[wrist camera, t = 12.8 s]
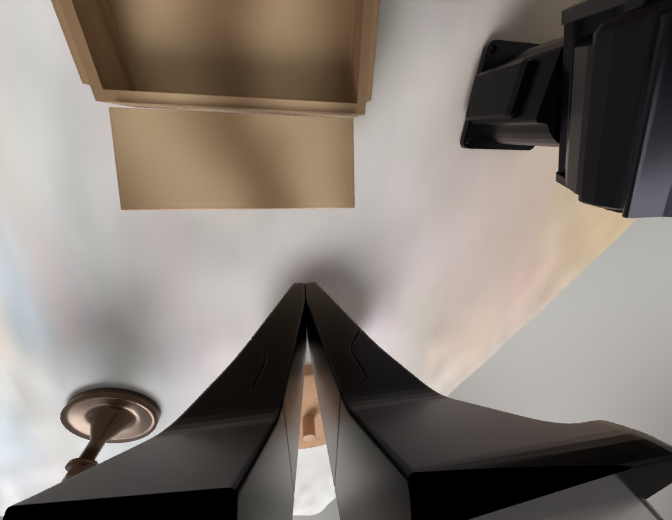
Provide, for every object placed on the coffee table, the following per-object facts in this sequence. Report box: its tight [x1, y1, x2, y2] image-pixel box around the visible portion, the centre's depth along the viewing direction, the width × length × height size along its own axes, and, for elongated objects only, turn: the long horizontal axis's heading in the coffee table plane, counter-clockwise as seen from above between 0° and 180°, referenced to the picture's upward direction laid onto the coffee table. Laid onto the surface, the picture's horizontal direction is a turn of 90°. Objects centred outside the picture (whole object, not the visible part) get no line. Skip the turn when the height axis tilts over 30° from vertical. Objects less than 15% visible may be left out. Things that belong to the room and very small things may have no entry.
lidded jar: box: [298, 340, 326, 449], centre depth 23 cm, size 11×11×9 cm
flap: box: [109, 107, 355, 210], centre depth 13 cm, size 12×5×1 cm, turn 88°
